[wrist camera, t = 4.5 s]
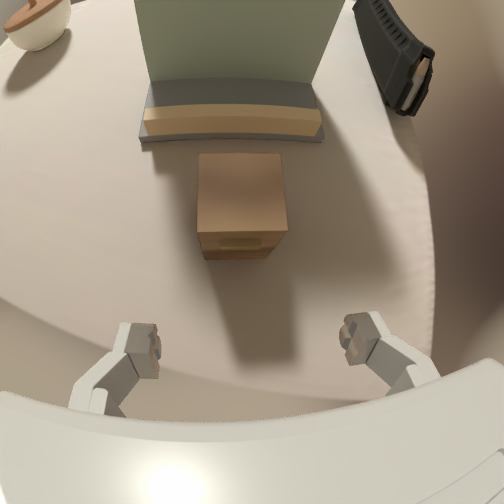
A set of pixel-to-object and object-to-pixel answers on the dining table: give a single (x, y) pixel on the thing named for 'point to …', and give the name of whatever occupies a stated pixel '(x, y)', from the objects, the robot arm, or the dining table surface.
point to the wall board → (233, 68)
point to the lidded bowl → (38, 23)
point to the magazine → (394, 55)
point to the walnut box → (240, 204)
